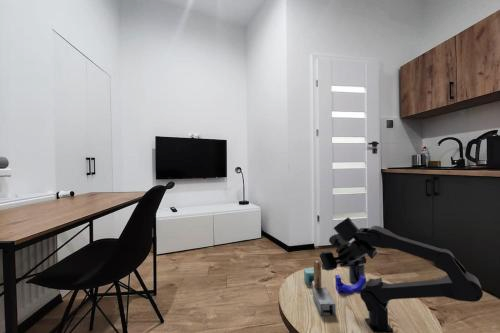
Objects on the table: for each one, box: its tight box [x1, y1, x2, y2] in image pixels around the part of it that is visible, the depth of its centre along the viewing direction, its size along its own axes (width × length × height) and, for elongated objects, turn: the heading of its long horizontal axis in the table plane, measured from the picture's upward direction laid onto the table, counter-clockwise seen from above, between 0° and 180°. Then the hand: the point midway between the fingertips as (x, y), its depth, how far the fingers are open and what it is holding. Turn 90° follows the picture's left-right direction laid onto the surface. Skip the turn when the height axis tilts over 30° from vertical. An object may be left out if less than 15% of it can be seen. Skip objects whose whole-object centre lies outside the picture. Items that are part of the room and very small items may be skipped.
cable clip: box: [334, 274, 367, 295], centre depth 105 cm, size 12×4×6 cm, turn 85°
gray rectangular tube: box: [312, 287, 337, 317], centre depth 94 cm, size 12×5×4 cm, turn 178°
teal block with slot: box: [303, 268, 314, 285], centre depth 115 cm, size 5×6×5 cm
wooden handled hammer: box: [311, 259, 330, 310], centre depth 99 cm, size 18×3×13 cm, turn 178°
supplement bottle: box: [348, 264, 366, 285], centre depth 114 cm, size 7×7×12 cm
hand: (331, 266), depth 98 cm, fingers open, 9 cm apart
